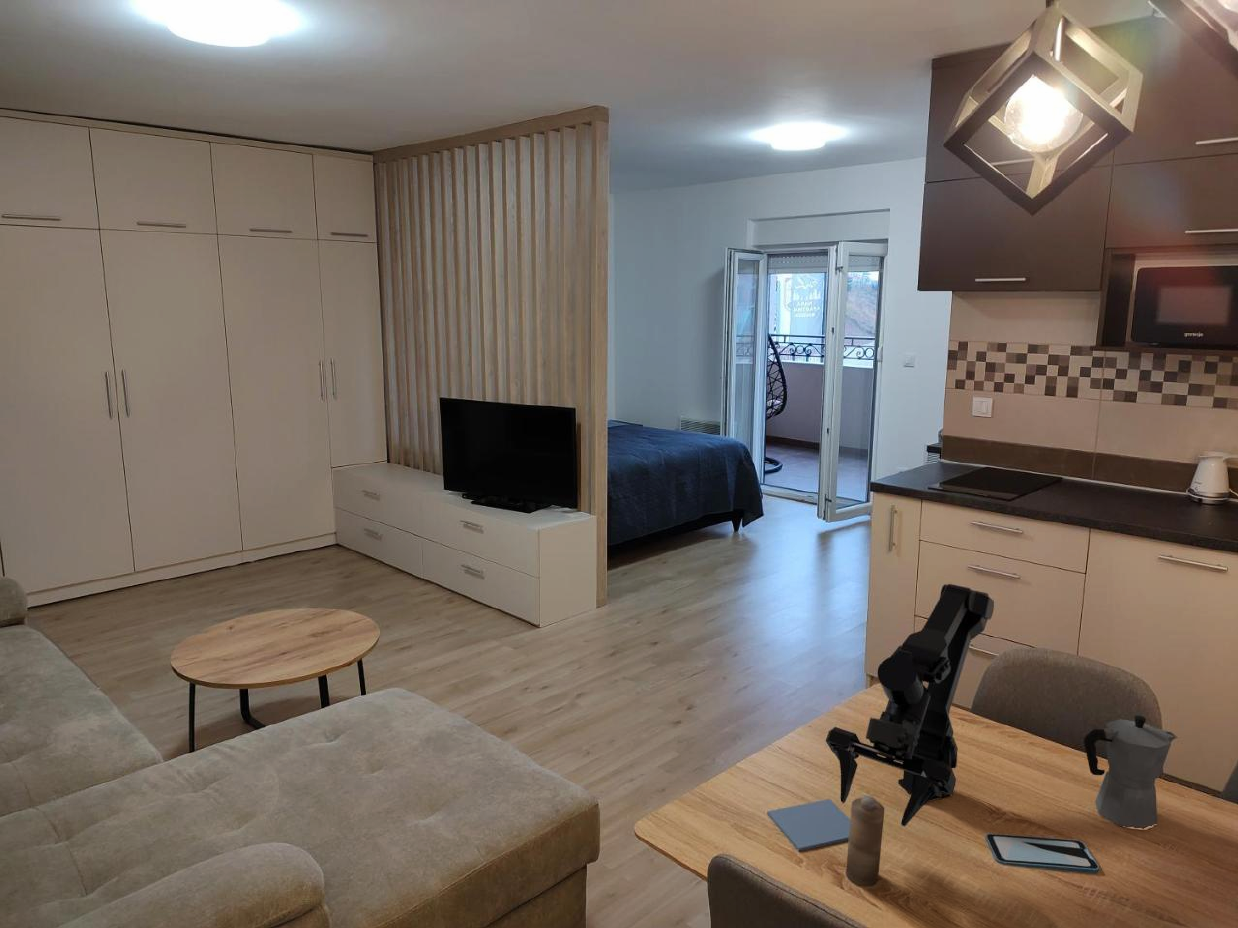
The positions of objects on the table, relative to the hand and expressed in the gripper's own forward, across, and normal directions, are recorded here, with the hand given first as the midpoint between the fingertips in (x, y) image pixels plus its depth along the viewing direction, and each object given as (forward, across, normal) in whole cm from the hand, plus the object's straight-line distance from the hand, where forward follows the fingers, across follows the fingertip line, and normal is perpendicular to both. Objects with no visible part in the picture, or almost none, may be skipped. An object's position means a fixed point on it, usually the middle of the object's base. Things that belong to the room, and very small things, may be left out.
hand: (871, 813), depth 126 cm
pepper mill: (+8, 0, +5) cm, 10 cm away
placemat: (+3, -11, +10) cm, 15 cm away
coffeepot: (-22, +28, +35) cm, 50 cm away
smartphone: (-8, +20, +22) cm, 30 cm away
